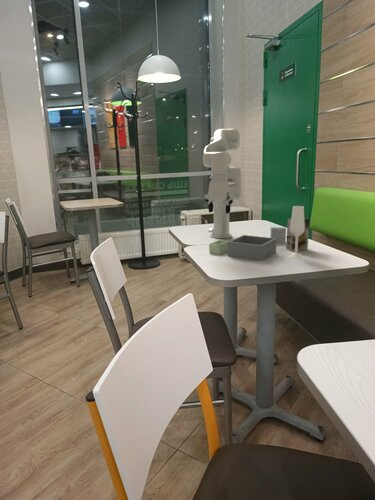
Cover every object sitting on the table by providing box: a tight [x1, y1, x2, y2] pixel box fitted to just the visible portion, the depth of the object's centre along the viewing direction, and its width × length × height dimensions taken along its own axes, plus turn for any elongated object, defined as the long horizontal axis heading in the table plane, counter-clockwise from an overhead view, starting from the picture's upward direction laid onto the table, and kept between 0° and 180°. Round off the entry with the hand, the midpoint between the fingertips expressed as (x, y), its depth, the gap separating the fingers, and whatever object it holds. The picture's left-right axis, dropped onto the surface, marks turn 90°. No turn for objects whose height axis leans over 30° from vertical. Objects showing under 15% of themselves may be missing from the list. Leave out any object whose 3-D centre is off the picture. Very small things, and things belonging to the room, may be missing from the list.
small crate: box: [208, 239, 229, 255], centre depth 183 cm, size 6×10×5 cm, turn 146°
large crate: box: [227, 234, 277, 262], centre depth 176 cm, size 18×18×7 cm
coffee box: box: [285, 217, 310, 252], centre depth 182 cm, size 9×6×16 cm
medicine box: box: [269, 226, 287, 244], centre depth 198 cm, size 8×4×9 cm, turn 84°
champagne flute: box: [288, 205, 305, 259], centre depth 167 cm, size 7×7×24 cm
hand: (219, 212), depth 178 cm, fingers open, 9 cm apart
